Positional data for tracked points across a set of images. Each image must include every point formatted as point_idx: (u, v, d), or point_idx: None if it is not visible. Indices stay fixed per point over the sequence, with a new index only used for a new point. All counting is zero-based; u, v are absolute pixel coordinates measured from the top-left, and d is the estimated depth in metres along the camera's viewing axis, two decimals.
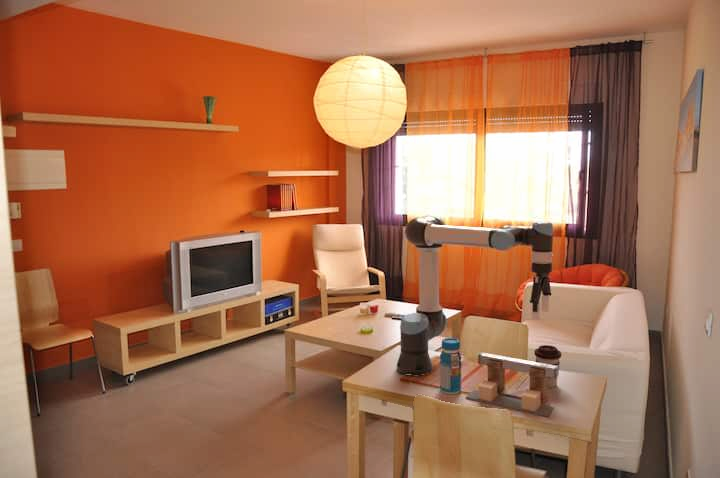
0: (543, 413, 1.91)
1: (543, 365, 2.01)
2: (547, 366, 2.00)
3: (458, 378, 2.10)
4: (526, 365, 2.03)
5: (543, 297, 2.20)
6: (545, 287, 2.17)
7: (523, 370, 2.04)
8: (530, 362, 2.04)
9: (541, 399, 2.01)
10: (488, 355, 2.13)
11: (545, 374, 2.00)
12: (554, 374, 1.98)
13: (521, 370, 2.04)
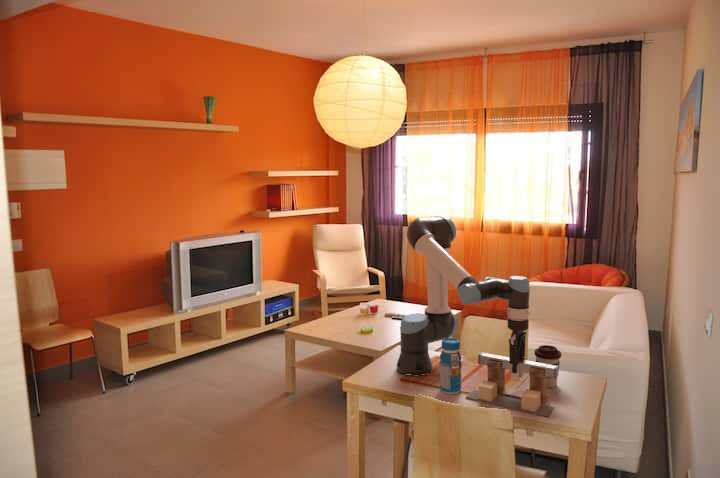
0: (543, 413, 1.91)
1: (543, 365, 2.01)
2: (547, 366, 2.00)
3: (458, 378, 2.10)
4: (526, 365, 2.03)
5: None
6: (520, 347, 2.07)
7: (523, 370, 2.04)
8: (530, 362, 2.04)
9: (541, 399, 2.01)
10: (488, 355, 2.13)
11: (545, 374, 2.00)
12: (554, 374, 1.98)
13: (521, 370, 2.04)
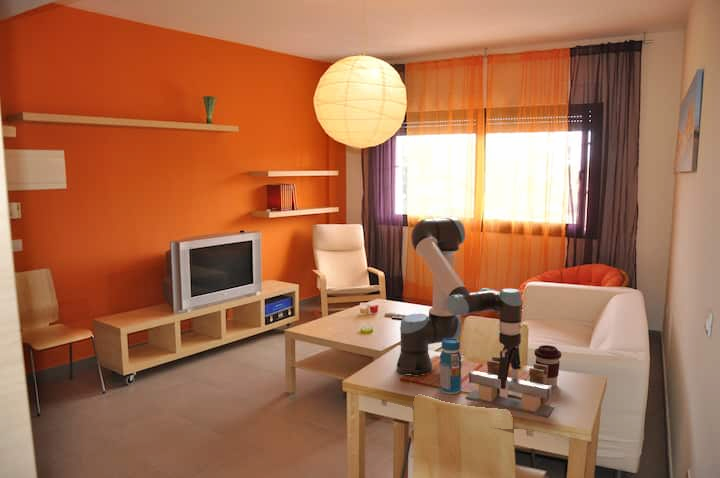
0: (543, 413, 1.91)
1: (536, 385, 1.94)
2: (540, 386, 1.93)
3: (458, 378, 2.10)
4: (519, 384, 1.96)
5: (512, 371, 2.04)
6: (514, 359, 2.02)
7: (515, 389, 1.97)
8: (522, 381, 1.98)
9: (541, 399, 2.01)
10: (479, 373, 2.06)
11: (538, 394, 1.93)
12: (547, 395, 1.91)
13: (513, 390, 1.98)
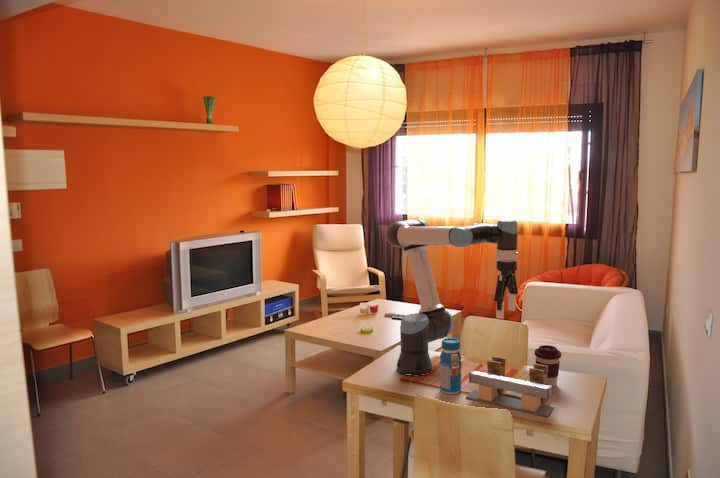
0: (543, 413, 1.91)
1: (536, 385, 1.94)
2: (540, 386, 1.93)
3: (458, 378, 2.10)
4: (519, 384, 1.96)
5: (510, 295, 2.19)
6: (511, 285, 2.16)
7: (515, 389, 1.97)
8: (522, 381, 1.98)
9: (541, 399, 2.01)
10: (479, 373, 2.06)
11: (538, 394, 1.93)
12: (547, 395, 1.91)
13: (513, 390, 1.98)
